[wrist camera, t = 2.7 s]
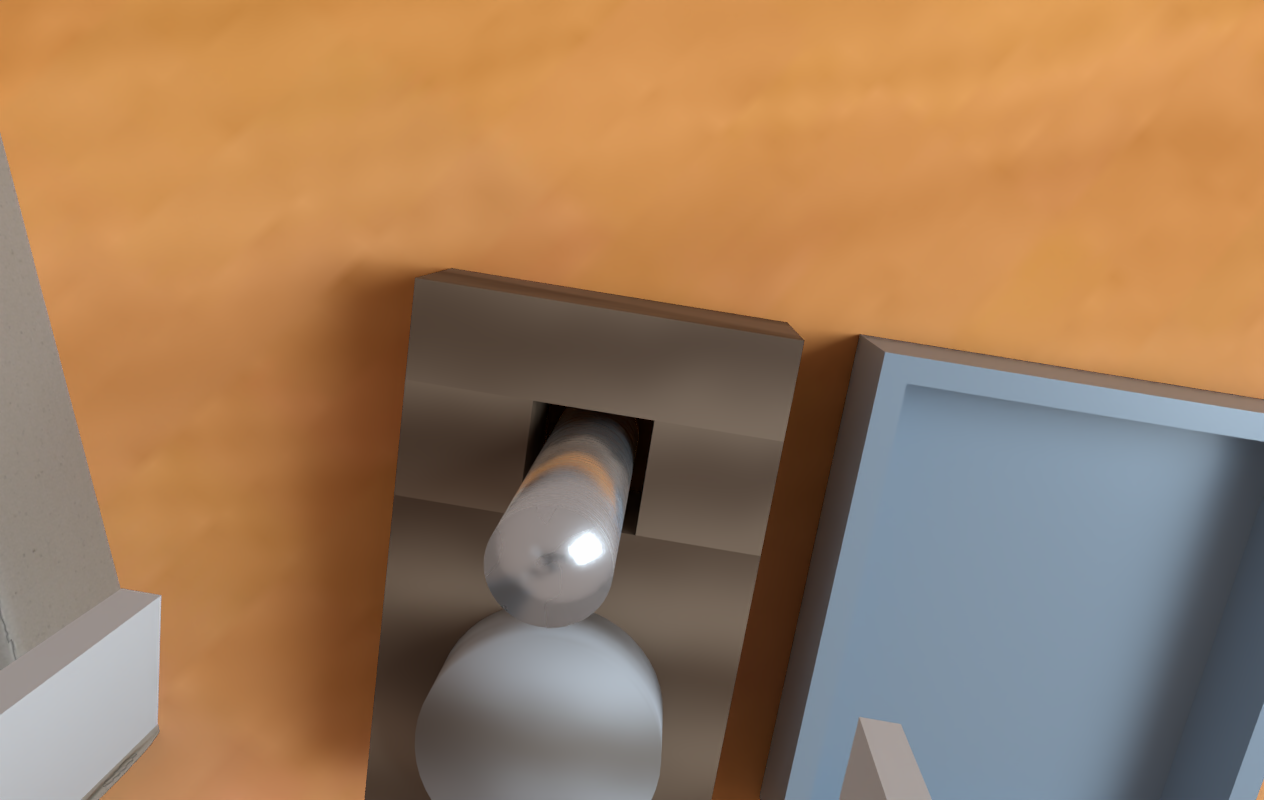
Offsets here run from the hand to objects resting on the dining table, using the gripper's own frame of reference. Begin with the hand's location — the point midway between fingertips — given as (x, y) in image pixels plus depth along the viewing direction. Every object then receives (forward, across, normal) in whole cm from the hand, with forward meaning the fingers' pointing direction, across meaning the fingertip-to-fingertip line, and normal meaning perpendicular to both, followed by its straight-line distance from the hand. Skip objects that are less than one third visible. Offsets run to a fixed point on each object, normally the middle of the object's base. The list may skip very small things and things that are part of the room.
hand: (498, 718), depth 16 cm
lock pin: (+21, 0, 0) cm, 21 cm away
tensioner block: (+21, 0, +5) cm, 22 cm away
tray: (+21, -19, +5) cm, 29 cm away
